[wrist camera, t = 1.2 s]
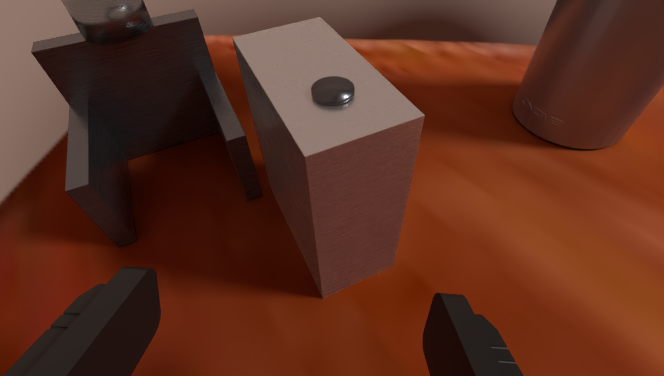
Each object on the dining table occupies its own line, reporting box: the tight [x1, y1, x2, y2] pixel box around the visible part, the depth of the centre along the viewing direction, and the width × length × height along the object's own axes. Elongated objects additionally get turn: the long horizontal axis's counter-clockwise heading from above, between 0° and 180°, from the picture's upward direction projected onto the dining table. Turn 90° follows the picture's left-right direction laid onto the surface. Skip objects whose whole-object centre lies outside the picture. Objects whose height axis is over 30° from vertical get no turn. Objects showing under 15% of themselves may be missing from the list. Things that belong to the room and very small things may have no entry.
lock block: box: [232, 17, 425, 298], centre depth 20 cm, size 5×10×12 cm, turn 25°
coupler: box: [31, 0, 262, 247], centre depth 24 cm, size 10×12×12 cm
